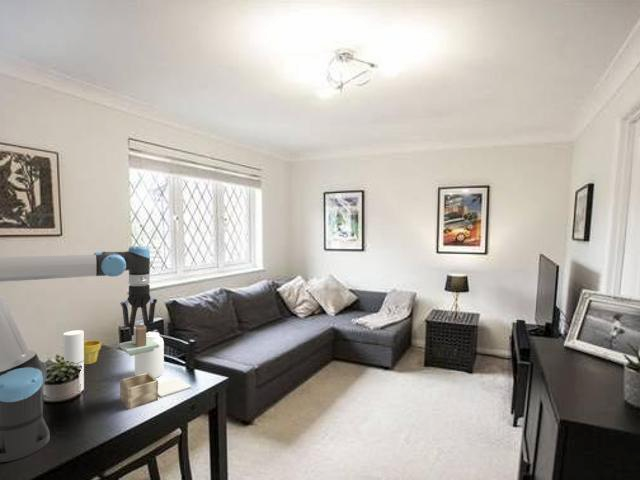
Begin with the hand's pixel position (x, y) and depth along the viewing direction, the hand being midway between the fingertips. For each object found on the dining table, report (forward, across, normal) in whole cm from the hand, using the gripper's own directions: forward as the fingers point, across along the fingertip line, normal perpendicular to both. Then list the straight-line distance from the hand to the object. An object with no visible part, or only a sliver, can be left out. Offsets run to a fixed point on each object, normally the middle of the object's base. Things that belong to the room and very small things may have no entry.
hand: (138, 341), depth 141 cm
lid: (+4, 0, 0) cm, 4 cm away
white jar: (+24, +12, +22) cm, 35 cm away
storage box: (+24, 0, 0) cm, 24 cm away
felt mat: (+24, +14, +2) cm, 28 cm away
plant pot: (+24, -5, +59) cm, 64 cm away
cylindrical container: (+24, -17, +27) cm, 40 cm away
